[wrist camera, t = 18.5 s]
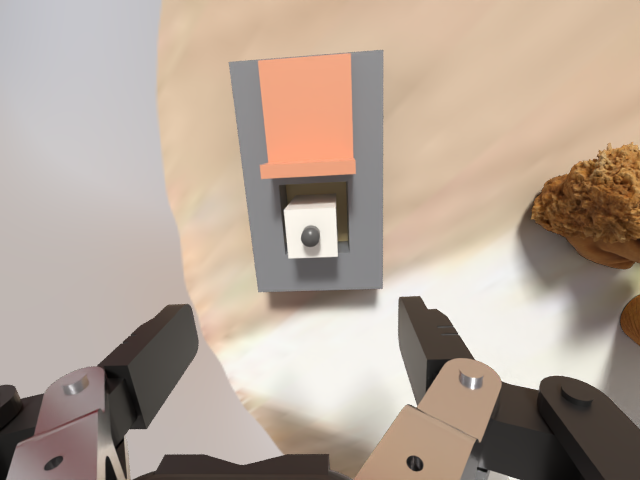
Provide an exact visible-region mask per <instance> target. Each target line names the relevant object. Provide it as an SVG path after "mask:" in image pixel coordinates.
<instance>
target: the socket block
mask: <svg viewBox="0 0 640 480" xmlns="http://www.w3.org/2000/svg"><path fill="white" fill-rule="evenodd" d="M349 53H351V80H352V121H353V158H354V159H355V161H356V174H345V175H326V176H307V177H289V178H270V179H261V172H260V165H262V164H265V163H268V154H267V145H266V135H265V126H264V116H263V106H262V97H261V87H260V77H259V68H258V61H259V60H248V61H236V62H229V67H230V75H231V83H232V91H233V98H234V106H235V114H236V122H237V129H238V137H239V145H240V153H241V161H242V168H243V176H244V184H245V192H246V199H247V207H248V215H249V223H250V231H251V238H252V246H253V254H254V262H255V270H256V277H257V285H258V292H281V291H317V290H352V289H383V50H374V51H362V52H349ZM337 54H347V53H337ZM324 55H334V54H324ZM311 56H322V55H311ZM299 57H309V56H299ZM286 58H296V57H286ZM274 59H284V58H274ZM261 60H271V59H261ZM333 193H336V206H337V229H338V257H315V258H288V248H287V237H286V227H285V216H284V209H285V208H286V207H287V206H288V204H289V203H290V202H291V200H292V199H293V198H294V197H295V195H313V194H333Z"/></svg>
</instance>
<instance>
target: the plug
mask: <svg viewBox="0 0 640 480" xmlns="http://www.w3.org/2000/svg"><path fill="white" fill-rule="evenodd" d="M284 216H285V227H286V237H287V248H288V258H315V257H338V229H337V206H336V193H333V194H313V195H295V197H294V198H293V199H292V200H291V202H290V203H289V204H288V206H287V207H286V208H285V209H284Z"/></svg>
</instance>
